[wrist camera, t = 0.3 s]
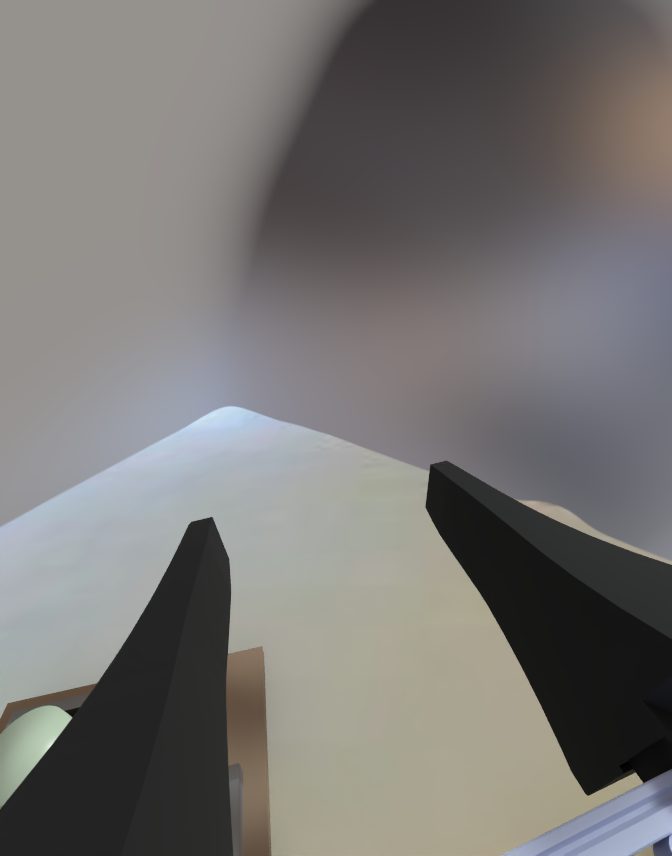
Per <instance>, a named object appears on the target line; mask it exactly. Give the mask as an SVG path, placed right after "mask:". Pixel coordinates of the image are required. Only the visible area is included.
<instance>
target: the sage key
mask: <svg viewBox="0 0 672 856" xmlns="http://www.w3.org/2000/svg"><path fill="white" fill-rule="evenodd" d="M72 718H73V717H71V716H70V715H69V714H67V713H66V712H65V711H63V710H62V709H61V708H59V707H56V706H42V707H39V708H36V709H33V710H31V711H29V712H27V713H25V714H24V715H22V716H21V717H19V718H18V719H16V720H15V721H14V722H13V723H11V724H10V725H9V726H8V727H7V728H6V729H5V730H4V731H3V732H2V733H1V734H0V809H1V807H2V806H3V805H4V804H5V802H6V801H7V800H8V799H9V797H10V796H11V795H12V794H13V792H14V791H15V790H16V789H17V788H18V786H19V785H20V784H21V783H22V781H23V780H24V779H25V778H26V776H27V775H28V774H29V773H30V771H31V770H32V769H33V768H34V766H35V765H36V764H37V763H38V761H39V760H40V759H41V758H42V757H43V755H44V754H45V753H46V752H47V750H48V749H49V748H50V747H51V745H52V744H53V743H54V741H55V740H56V739H57V737H58V736H59V735H60V734H61V732H62V731H63V730H64V728H65V727H66V726H67V724H68V723H69V722H70V720H71V719H72Z"/></svg>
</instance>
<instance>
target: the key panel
mask: <svg viewBox="0 0 672 856" xmlns="http://www.w3.org/2000/svg"><path fill="white" fill-rule="evenodd" d="M96 685H97V684H92V685H88V686H83V687H79V688H74V689H70V690H65V691H61V692H57V693H52V694H48V695H43V696H39V697H34V698H30V699H25V700H21V701H16V702H12V703H8V704H7V706H6V708H5V710H4V713H3V715H2V717H1V719H0V734H1V733H2V732H3V731H4V730H5V729H6V728H7V727H8V726H9V725H10V724H11V723H13V722H14V721H15V720H16V719H18V718H19V717H21V716H22V715H24V714H25V713H27V712H29V711H31V710H33V709H36V708H39V707H42V706H56V707H59V708H61V709H62V710H63V711H65V712H66V713H67V714H69V715H70V716H71V717H73V716H74V715H75V713H76V712H77V711H78V709H79V708H80V707H81V705H82V704H83V702H84V701H85V700H86V698H87V697H88V696H89V694H90V693H91V691H92V690H93V689H94V687H95V686H96ZM226 709H227V742H228V766H229V788H230V807H231V825H232V842H233V856H271V836H270V809H269V782H268V755H267V728H266V700H265V673H264V653H263V648H262V647H257V648H253V649H248V650H244V651H239V652H235V653H231V654H228V657H227V674H226Z"/></svg>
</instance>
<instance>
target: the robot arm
mask: <svg viewBox="0 0 672 856" xmlns="http://www.w3.org/2000/svg"><path fill="white" fill-rule="evenodd" d="M426 509H427V511H428V513H429V515H430V517H431V519H432V521H433V523H434V525H435V527H436V529H437V530H438V532H439V534H440V536H441V537H442V539H443V540H444V541H445V543H446V544H447V546H448V547H449V549H450V550H451V552H452V553H453V555H454V556H455V558H456V559H457V560H458V562H459V563H460V565H461V566H462V568H463V569H464V571H465V572H466V573H467V575H468V576H469V578H470V579H471V581H472V582H473V584H474V585H475V587H476V588H477V589H478V591H479V592H480V594H481V595H482V597H483V599H484V600H485V602H486V603H487V605H488V607H489V608H490V610H491V612H492V614H493V615H494V617H495V619H496V621H497V623H498V624H499V626H500V628H501V630H502V631H503V633H504V635H505V637H506V639H507V641H508V642H509V644H510V646H511V648H512V650H513V652H514V654H515V656H516V657H517V659H518V661H519V663H520V665H521V667H522V669H523V671H524V673H525V675H526V677H527V679H528V681H529V683H530V685H531V687H532V689H533V691H534V692H535V694H536V696H537V698H538V700H539V702H540V704H541V706H542V709H543V711H544V713H545V715H546V717H547V719H548V721H549V723H550V726H551V728H552V730H553V732H554V734H555V736H556V738H557V740H558V743H559V745H560V747H561V749H562V751H563V753H564V756H565V758H566V760H567V762H568V765H569V767H570V769H571V771H572V773H573V775H574V776H575V778H576V779H577V781H578V783H579V784H580V786H581V787H582V789H583V791H584V792H585V794H586V795H588V796H589V795H591V794H593V793H595V792H597V791H599V790H601V789H603V788H605V787H607V786H609V785H611V784H613V783H615V782H617V781H619V780H621V779H623V778H625V777H627V776H629V775H631V774H633V773H635V772H636V773H637V775H638V776H639V777H640V779H641V780H642V781H643V784H641V785H639V786H637V787H635V788H633V789H631V790H629V791H627V792H625V793H623V794H621V795H619V796H617V797H615V798H613V799H611V800H609V801H607V802H605V803H603V804H602V805H600V806H598V807H596V808H594V809H592V810H590V811H588V812H586V813H584V814H582V815H580V816H578V817H576V818H574V819H572V820H570V821H568V822H566V823H564V824H562V825H560V826H558V827H556V828H554V829H552V830H550V831H548V832H546V833H544V834H542V835H540V836H538V837H536V838H534V839H532V840H530V841H528V842H526V843H524V844H522V845H520V846H518V847H516V848H515V849H513V850H511V851H509V852H507V853H505V854H503V855H501V856H632V855H634V854H636V853H638V852H640V851H641V850H643V849H645V848H647V847H649V846H650V845H652V844H653V851H654V855H655V856H672V565H670V564H667V563H664V562H661V561H658V560H655V559H652V558H649V557H646V556H643V555H640V554H637V553H634V552H632V551H629V550H626V549H624V548H621V547H618V546H616V545H613V544H610V543H608V542H605V541H602V540H600V539H597V538H595V537H592V536H590V535H587V534H585V533H583V532H581V531H578V530H576V529H574V528H571V527H569V526H567V525H565V524H562V523H560V522H558V521H556V520H554V519H552V518H549V517H547V516H545V515H543V514H541V513H539V512H537V511H535V510H533V509H532V508H530V507H528V506H526V505H524V504H522V503H520V502H518V501H516V500H514V499H513V498H511V497H509V496H507V495H505V494H503V493H501V492H500V491H498V490H496V489H495V488H493V487H491V486H489V485H488V484H486V483H484V482H483V481H481V480H479V479H477V478H476V477H474V476H472V475H471V474H469V473H467V472H466V471H464V470H462V469H460V468H459V467H457V466H455V465H453V464H452V463H450V462H448V461H444V462H440V463H435V464H431V465H430V473H429V482H428V490H427V499H426ZM230 605H231V580H230V564H229V558H228V555H227V553H226V550H225V548H224V545H223V543H222V540H221V538H220V535H219V533H218V530H217V528H216V525H215V523H214V520H213V517H210V518H206V519H202V520H197V521H193V522H191V523H190V524H189V525H188V528H187V530H186V532H185V534H184V536H183V538H182V540H181V542H180V544H179V547H178V549H177V551H176V553H175V555H174V557H173V559H172V561H171V563H170V565H169V567H168V568H167V570H166V572H165V574H164V576H163V578H162V580H161V582H160V583H159V585H158V587H157V589H156V591H155V593H154V594H153V596H152V598H151V600H150V602H149V603H148V605H147V607H146V608H145V610H144V612H143V613H142V615H141V617H140V618H139V620H138V622H137V623H136V625H135V627H134V628H133V630H132V632H131V633H130V635H129V637H128V638H127V640H126V641H125V643H124V644H123V646H122V648H121V649H120V651H119V652H118V654H117V655H116V657H115V658H114V660H113V661H112V663H111V664H110V666H109V667H108V669H107V670H106V671H105V673H104V674H103V676H102V677H101V679H100V680H99V682H98V683H97V685H96V686H95V687H94V689H93V690H92V691H91V693H90V694H89V696H88V697H87V698H86V700H85V701H84V702H83V704H82V705H81V707H80V708H79V709H78V711H77V712H76V713H75V715H74V716H73V718H72V719H71V720H70V722H69V723H68V724H67V726H66V727H65V728H64V730H63V731H62V732H61V734H60V735H59V736H58V737H57V739H56V740H55V741H54V743H53V744H52V745H51V747H50V748H49V749H48V750H47V752H46V753H45V754H44V755H43V757H42V758H41V759H40V760H39V761H38V763H37V764H36V765H35V766H34V768H33V769H32V770H31V771H30V773H29V774H28V775H27V776H26V778H25V779H24V780H23V781H22V783H21V784H20V785H19V786H18V788H17V789H16V790H15V791H14V792H13V794H12V795H11V796H10V797H9V799H8V800H7V801H6V802H5V804H4V805H3V806H2V807H1V809H0V856H233V842H232V825H231V807H230V788H229V766H228V742H227V709H226V674H227V657H228V640H229V623H230Z"/></svg>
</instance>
